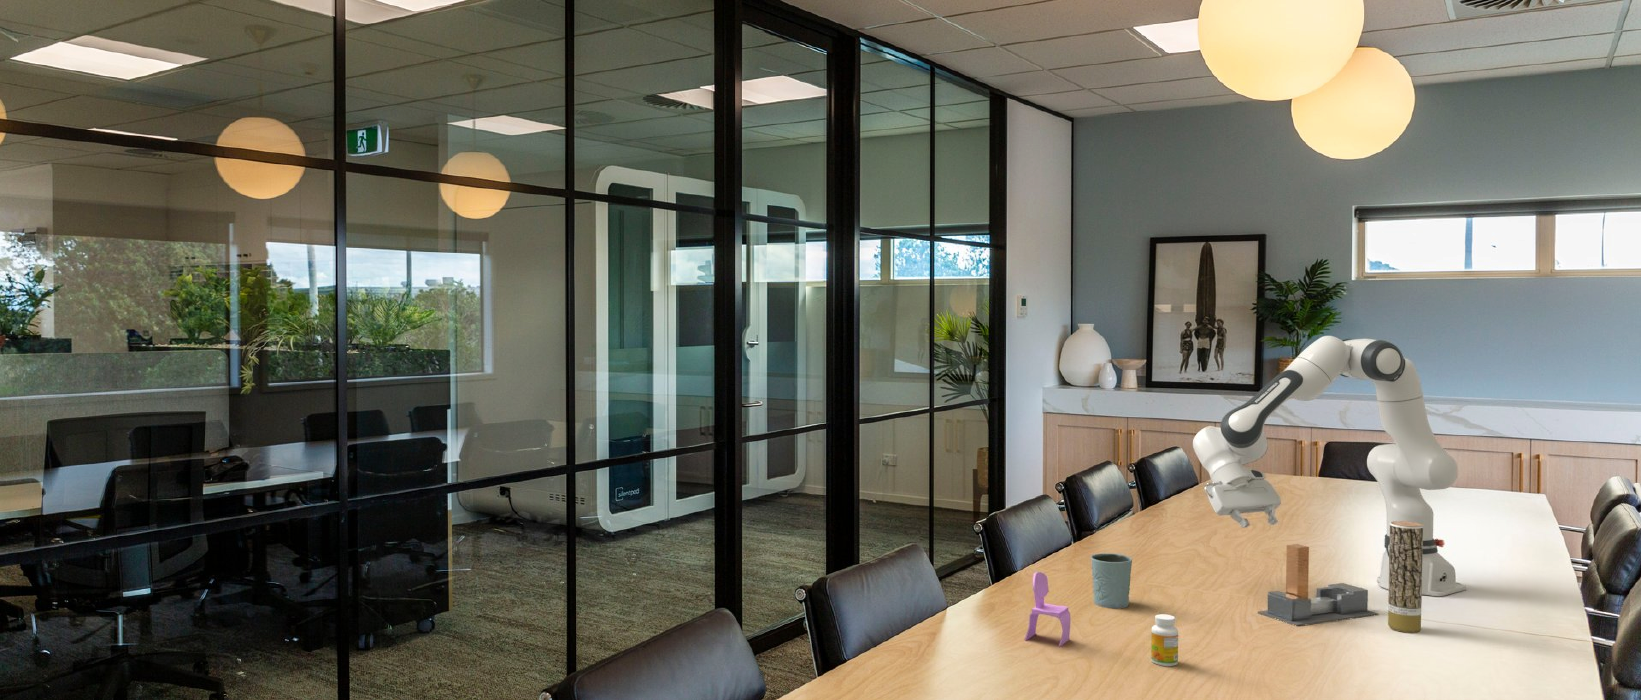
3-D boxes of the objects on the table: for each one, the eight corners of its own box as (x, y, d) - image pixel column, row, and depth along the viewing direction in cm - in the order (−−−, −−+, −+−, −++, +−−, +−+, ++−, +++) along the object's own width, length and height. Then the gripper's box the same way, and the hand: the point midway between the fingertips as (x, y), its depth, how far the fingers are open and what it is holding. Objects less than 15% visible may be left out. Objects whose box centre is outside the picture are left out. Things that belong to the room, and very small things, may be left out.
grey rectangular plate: (1337, 602, 265) (1337, 601, 265) (1378, 614, 254) (1378, 613, 254) (1257, 613, 255) (1257, 611, 255) (1296, 626, 244) (1296, 624, 244)
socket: (1286, 611, 256) (1286, 589, 256) (1310, 619, 249) (1311, 596, 249) (1267, 613, 253) (1267, 591, 253) (1291, 621, 246) (1291, 599, 246)
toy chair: (1060, 648, 226) (1061, 580, 226) (1022, 641, 231) (1023, 575, 230) (1072, 638, 233) (1073, 573, 233) (1035, 632, 238) (1036, 568, 237)
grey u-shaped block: (1342, 603, 263) (1342, 582, 263) (1367, 611, 256) (1367, 589, 256) (1316, 607, 259) (1316, 586, 259) (1341, 614, 253) (1341, 593, 252)
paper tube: (1425, 634, 238) (1427, 527, 238) (1393, 632, 240) (1395, 525, 239) (1414, 626, 245) (1416, 521, 244) (1383, 624, 246) (1385, 520, 246)
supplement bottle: (1146, 658, 219) (1147, 613, 219) (1171, 658, 220) (1171, 612, 219) (1157, 666, 214) (1157, 620, 214) (1182, 666, 214) (1182, 620, 214)
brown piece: (1325, 607, 258) (1326, 541, 258) (1337, 611, 255) (1338, 543, 254) (1280, 613, 252) (1281, 545, 252) (1291, 617, 249) (1292, 548, 249)
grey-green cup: (1134, 601, 265) (1134, 555, 265) (1128, 611, 256) (1129, 563, 256) (1094, 597, 269) (1094, 551, 269) (1087, 606, 260) (1087, 559, 260)
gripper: (1208, 476, 266) (1236, 521, 257) (1267, 471, 273) (1297, 514, 265) (1195, 490, 270) (1222, 535, 261) (1254, 485, 278) (1282, 528, 269)
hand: (1260, 524), depth 263 cm, fingers open, 8 cm apart
